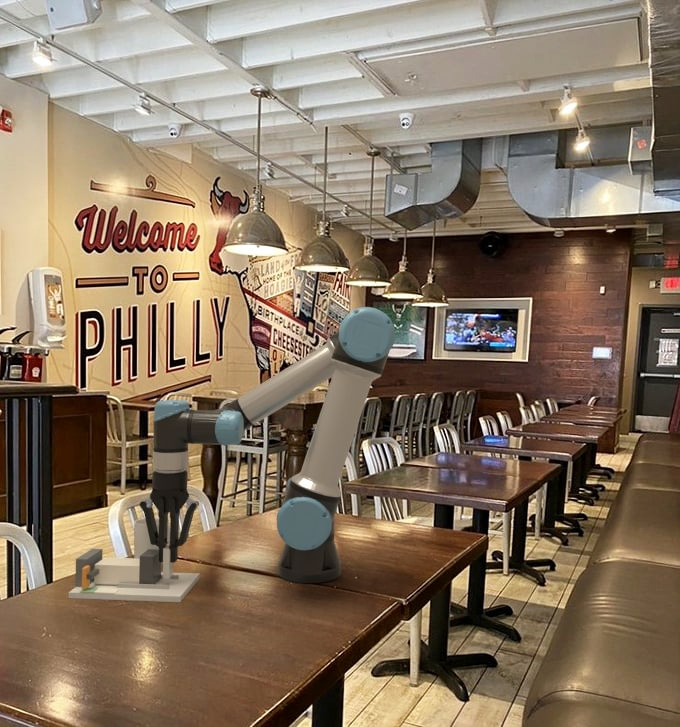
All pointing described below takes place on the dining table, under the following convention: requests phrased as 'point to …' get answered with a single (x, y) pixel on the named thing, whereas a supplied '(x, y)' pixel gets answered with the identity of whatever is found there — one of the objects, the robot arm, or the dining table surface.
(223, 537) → the dining table surface
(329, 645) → the dining table surface
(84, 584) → the needle
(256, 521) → the dining table surface
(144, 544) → the mug
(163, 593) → the base
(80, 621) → the dining table surface
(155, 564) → the beige and grey block
